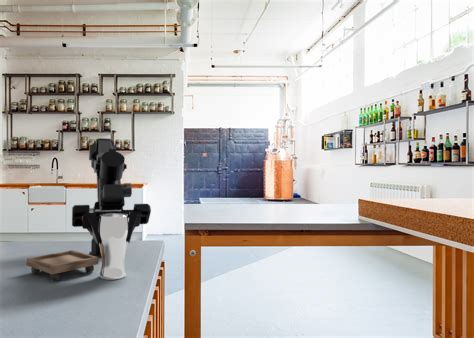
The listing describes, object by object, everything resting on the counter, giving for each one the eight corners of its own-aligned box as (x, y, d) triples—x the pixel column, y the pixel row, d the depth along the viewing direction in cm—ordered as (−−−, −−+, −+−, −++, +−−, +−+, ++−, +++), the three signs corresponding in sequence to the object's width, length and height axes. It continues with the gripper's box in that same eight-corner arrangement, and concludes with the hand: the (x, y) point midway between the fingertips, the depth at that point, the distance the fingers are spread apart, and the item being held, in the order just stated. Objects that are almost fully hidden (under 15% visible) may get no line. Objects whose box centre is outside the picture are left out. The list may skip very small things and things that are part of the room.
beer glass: (133, 274, 98) (134, 214, 98) (115, 281, 92) (117, 217, 92) (109, 270, 101) (110, 212, 101) (91, 278, 94) (92, 215, 94)
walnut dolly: (71, 264, 107) (72, 250, 107) (98, 272, 100) (98, 257, 100) (26, 273, 97) (26, 258, 97) (52, 283, 90) (52, 266, 90)
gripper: (72, 171, 96) (72, 224, 86) (150, 172, 103) (158, 221, 93) (72, 201, 103) (71, 252, 93) (144, 199, 111) (151, 247, 101)
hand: (113, 242), depth 95 cm, fingers closed on beer glass, 7 cm apart
